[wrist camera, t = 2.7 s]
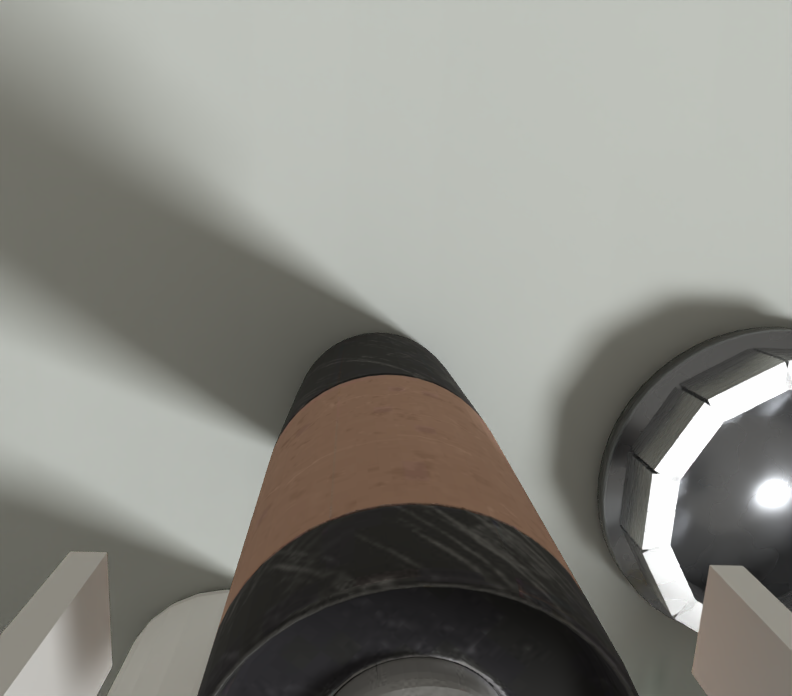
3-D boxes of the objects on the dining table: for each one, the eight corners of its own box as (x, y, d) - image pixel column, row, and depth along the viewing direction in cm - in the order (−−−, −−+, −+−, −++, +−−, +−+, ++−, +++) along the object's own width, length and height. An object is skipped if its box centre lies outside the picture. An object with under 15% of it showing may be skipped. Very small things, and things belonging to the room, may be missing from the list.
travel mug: (288, 326, 29) (147, 579, 9) (464, 325, 29) (686, 563, 10) (293, 491, 30) (182, 1007, 11) (460, 487, 31) (644, 976, 11)
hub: (580, 621, 33) (607, 670, 29) (617, 320, 29) (652, 335, 26) (870, 624, 34) (928, 671, 30) (934, 333, 31) (1007, 349, 27)
